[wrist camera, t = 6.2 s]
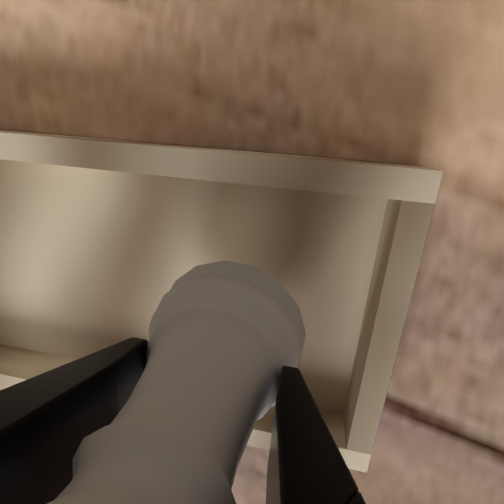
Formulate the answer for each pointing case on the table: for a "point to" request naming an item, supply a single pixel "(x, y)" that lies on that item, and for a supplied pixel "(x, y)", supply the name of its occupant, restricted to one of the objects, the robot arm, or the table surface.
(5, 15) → the table surface
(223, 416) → the rook chess piece
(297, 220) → the tray
